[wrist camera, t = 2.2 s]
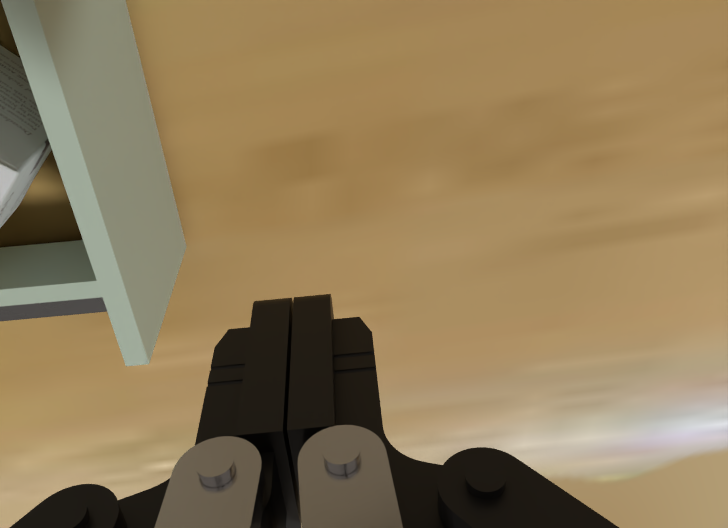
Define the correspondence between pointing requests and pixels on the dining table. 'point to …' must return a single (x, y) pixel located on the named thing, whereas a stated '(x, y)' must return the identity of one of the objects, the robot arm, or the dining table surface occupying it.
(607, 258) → the dining table surface
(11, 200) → the skincare box
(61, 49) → the crate
